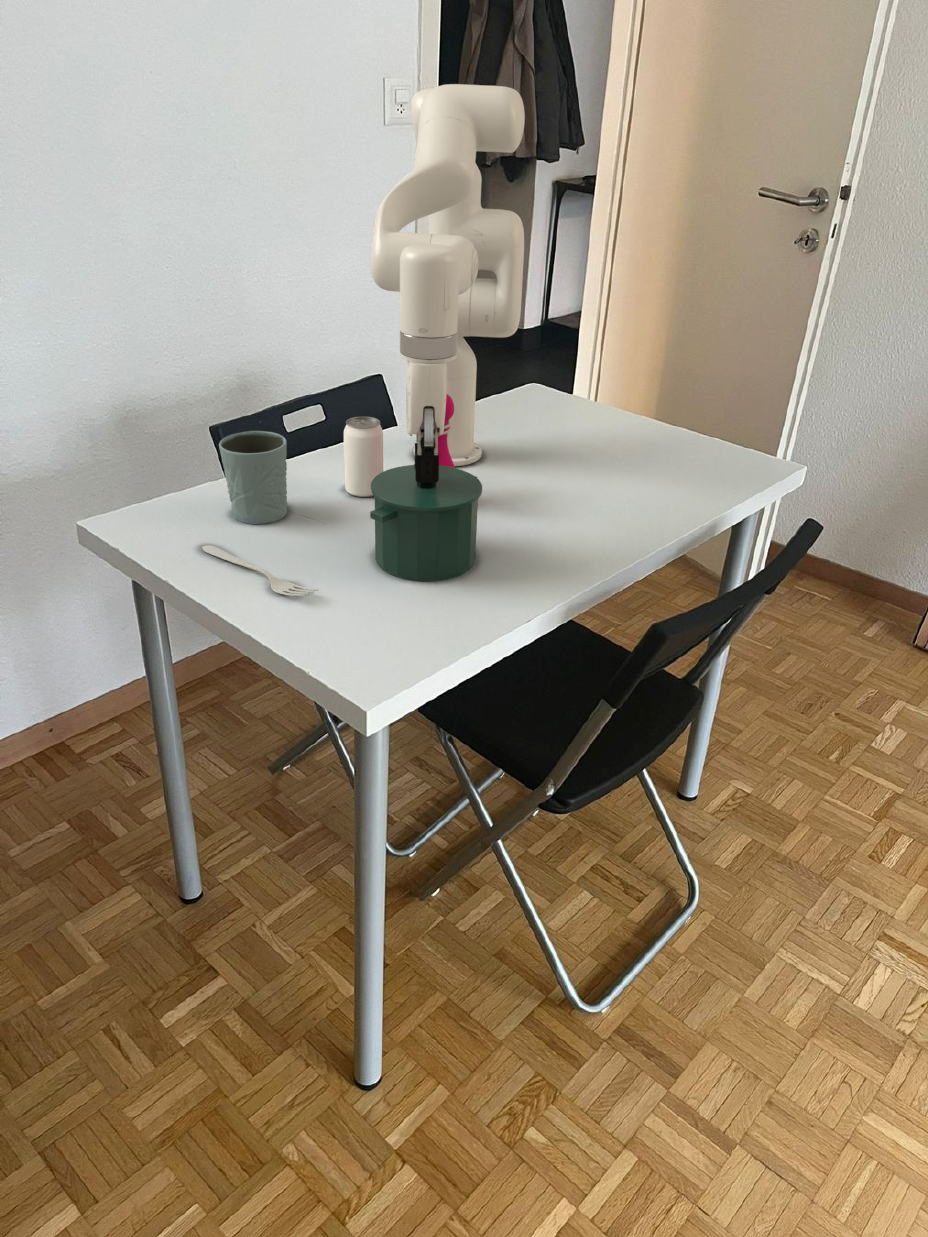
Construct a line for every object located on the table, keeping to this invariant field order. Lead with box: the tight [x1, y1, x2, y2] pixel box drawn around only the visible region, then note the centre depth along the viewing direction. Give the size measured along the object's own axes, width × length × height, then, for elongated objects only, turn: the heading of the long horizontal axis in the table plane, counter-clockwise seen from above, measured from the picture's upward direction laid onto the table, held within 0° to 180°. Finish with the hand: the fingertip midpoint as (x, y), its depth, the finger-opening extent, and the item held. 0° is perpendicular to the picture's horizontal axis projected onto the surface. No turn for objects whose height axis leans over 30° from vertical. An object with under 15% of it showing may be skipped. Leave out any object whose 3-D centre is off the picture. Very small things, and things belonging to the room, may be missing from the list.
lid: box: [371, 447, 483, 512], centre depth 137 cm, size 16×16×7 cm
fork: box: [201, 544, 319, 597], centre depth 138 cm, size 3×24×2 cm, turn 49°
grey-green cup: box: [218, 430, 288, 525], centre depth 153 cm, size 10×10×12 cm
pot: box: [369, 475, 479, 582], centre depth 141 cm, size 15×20×11 cm
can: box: [343, 416, 384, 498], centre depth 162 cm, size 6×6×12 cm
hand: (426, 474), depth 137 cm, fingers open, 3 cm apart
